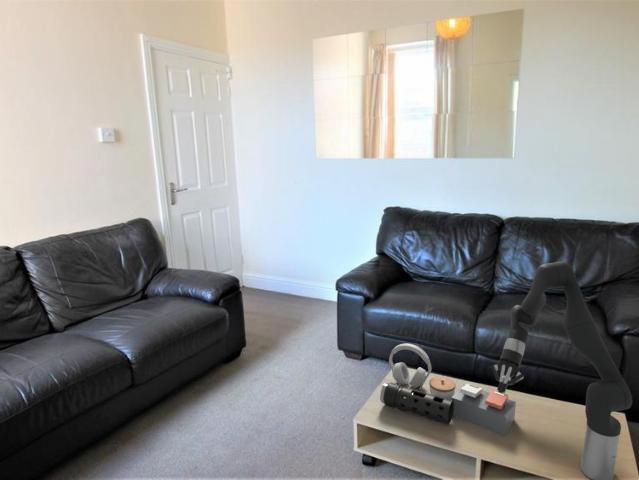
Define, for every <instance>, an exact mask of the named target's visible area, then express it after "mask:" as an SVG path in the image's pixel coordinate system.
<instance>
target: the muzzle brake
mask: <svg viewBox="0 0 639 480" xmlns="http://www.w3.org/2000/svg"><path fill="white" fill-rule="evenodd" d="M379 395H380V396H379V397H380V398H379V400H380V402H381V403H383V405H385V406H386V407H389V408H392V409H397V410H399V411H400V412H401V411H402V412H407V413H410V414H413V415H416V416H419V417H422V418H426V419H429V420H431V421H435V422H438V423H441V424H444V425H450V424H451V422H452V420H453V417H454V416H453V411H454V402H453V401H452V399H451V400H448V399H444V398H441V397H437V396H434V395H431V393H426V392H423V391H419V390H416V389H412V388H409V387H406V386H401V384H399V383H396V382H395V383H394V382H385V383H384V384H382V387H381V389H380V394H379Z"/></svg>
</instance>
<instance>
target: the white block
mask: <svg viewBox="0 0 639 480" xmlns="http://www.w3.org/2000/svg"><path fill="white" fill-rule="evenodd" d="M482 390H483V388H482V387H480V386H477V385H473V384H472V383H465V386H464V387H462V388H461V390H460V393H463V394H466V395H469V396H472V397H474V398H475V397H477V396H478V395H479V394H480V393H482Z"/></svg>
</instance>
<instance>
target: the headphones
mask: <svg viewBox="0 0 639 480" xmlns="http://www.w3.org/2000/svg"><path fill="white" fill-rule="evenodd" d="M402 350H408V351H412V352H414V353H416V354H417V355H419V357H420V358H421V359H422V360H423V361H424V362H425V363H426V365H427V369H428V371H427V374H426V369H424V368H422V367H420V366H419V367H418V368H417V370H416V371H415V373H414V374H413V376H412V378H411V380H410V371H409V369H408V366H407V364H406V363H405V362H401V361H400V362H397V363H395V364H394V362H393V357H394V355H395V354H397V353H398V352H399V351H402ZM388 363H389V367H390V369H391V372H392V377H393V379H394V380H395V382H396V384H398V385H400V386H401V385H407V384H409V386H411V387H412V388H414V389H415V388H419V390H421V389H422V387H423V386H424V385H425V382H426V381H427V379H428V378H429V376H430V374H431V372H432V363H431V360H430V357H429V355H428V354H427V353H426V351H424V349H422V348H421V347H420V346H418V345H415V344H412V343H407V342H406V343H401V344H398V345H396V346H395V347H394V348H392V350H391V352H390V354H389V359H388Z"/></svg>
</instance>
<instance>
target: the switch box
mask: <svg viewBox="0 0 639 480" xmlns="http://www.w3.org/2000/svg"><path fill="white" fill-rule="evenodd" d="M465 385H466V383H463V384H462V385H461V386H460V387H459V388H458V389H457V391H455V393H454V395H453V396H452V399H451V401H453V402H454V411H453V416H452V417H456V418H458V419H461V420H463V421H466V422H468V423H471V424H473V425H476V426H478V427H480V428H483V429H485V430H488V431H490V432H491V431H492V432H493V433H496V434H499V435H500V436H503V437H505V436H506V434H507V433H508V431H509V429H510V428H511V426H512V425H513V423H514V421H515V417H516V406H517V401H514V400H512V399H510V398H508V399H507V401H506V403H505V404H504V406H503V408H502V409H501V410H500V409H498V408H495V407H492V406H489V405H487V404H485V400H486V399H487V397H488V396H489V394H490V393H491V392H488V391H485V390H483V389H482V393H480V394H479V395H478V396H477V397H475V398H474V397H472V396H469V395H466V394H463V393H460V390H461V388H462V387H464V386H465Z"/></svg>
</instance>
